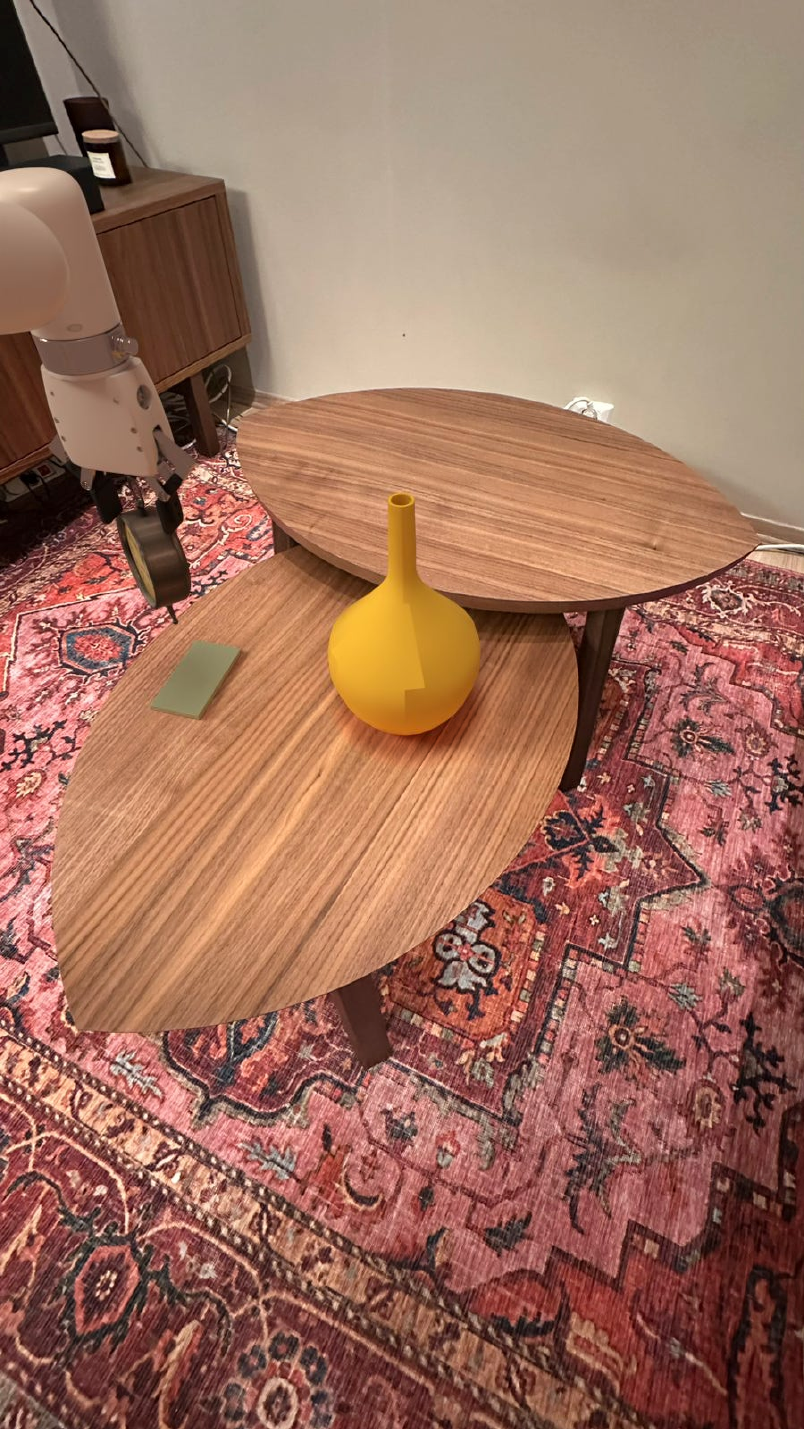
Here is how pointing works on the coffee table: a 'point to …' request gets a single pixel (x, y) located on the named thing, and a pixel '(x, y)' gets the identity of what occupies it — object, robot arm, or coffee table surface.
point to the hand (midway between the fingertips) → (143, 521)
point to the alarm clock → (154, 556)
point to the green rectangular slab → (196, 679)
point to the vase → (404, 643)
